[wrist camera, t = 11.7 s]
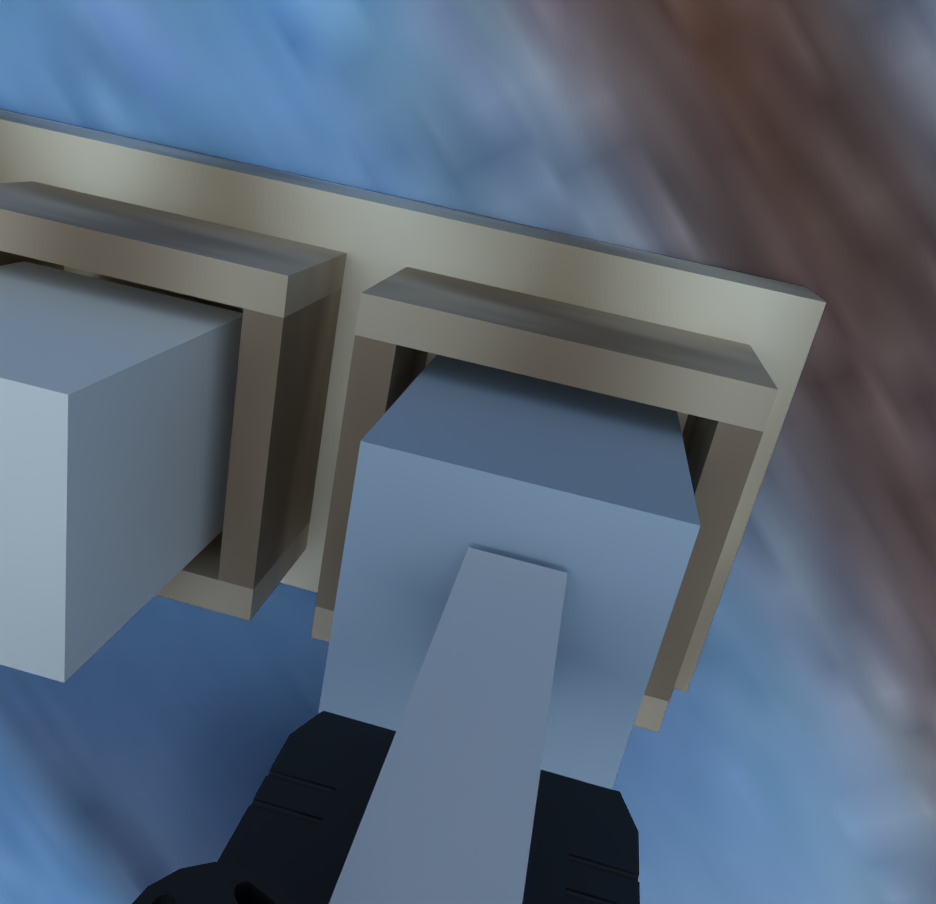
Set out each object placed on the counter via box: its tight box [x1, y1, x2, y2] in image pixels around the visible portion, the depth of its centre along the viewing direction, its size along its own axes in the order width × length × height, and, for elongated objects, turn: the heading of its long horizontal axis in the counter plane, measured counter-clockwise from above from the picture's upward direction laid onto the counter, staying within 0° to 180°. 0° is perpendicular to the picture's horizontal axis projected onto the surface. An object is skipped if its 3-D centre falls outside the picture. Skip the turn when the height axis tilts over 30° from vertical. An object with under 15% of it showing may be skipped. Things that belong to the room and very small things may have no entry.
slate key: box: [318, 354, 700, 789], centre depth 16 cm, size 5×5×6 cm
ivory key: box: [0, 261, 243, 683], centre depth 16 cm, size 5×5×6 cm
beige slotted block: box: [0, 109, 826, 732], centre depth 20 cm, size 28×10×6 cm, turn 78°
